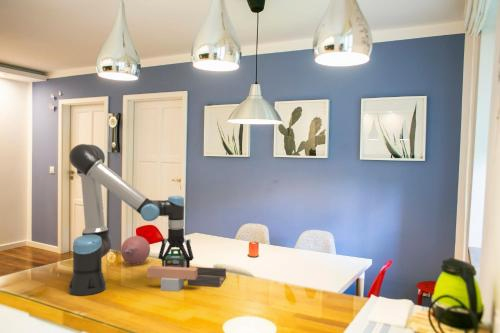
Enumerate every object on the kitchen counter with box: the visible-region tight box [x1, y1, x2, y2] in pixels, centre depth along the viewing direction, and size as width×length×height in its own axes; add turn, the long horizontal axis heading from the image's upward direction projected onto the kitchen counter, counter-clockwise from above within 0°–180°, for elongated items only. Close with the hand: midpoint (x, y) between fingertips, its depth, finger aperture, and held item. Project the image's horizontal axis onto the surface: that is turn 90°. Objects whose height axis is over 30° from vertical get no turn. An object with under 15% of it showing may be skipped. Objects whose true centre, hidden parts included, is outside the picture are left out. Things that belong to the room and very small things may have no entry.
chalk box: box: [165, 248, 186, 281], centre depth 191 cm, size 9×9×15 cm
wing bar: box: [147, 265, 198, 280], centre depth 177 cm, size 4×22×4 cm, turn 82°
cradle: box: [187, 266, 227, 288], centre depth 187 cm, size 14×15×4 cm
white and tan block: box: [160, 278, 185, 292], centre depth 177 cm, size 8×8×5 cm
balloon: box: [120, 235, 151, 265], centre depth 215 cm, size 15×20×15 cm
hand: (175, 273), depth 191 cm, fingers closed on chalk box, 10 cm apart
